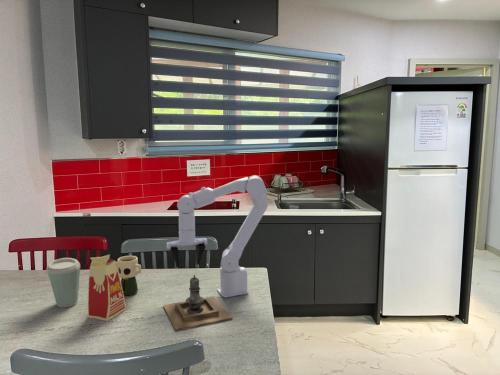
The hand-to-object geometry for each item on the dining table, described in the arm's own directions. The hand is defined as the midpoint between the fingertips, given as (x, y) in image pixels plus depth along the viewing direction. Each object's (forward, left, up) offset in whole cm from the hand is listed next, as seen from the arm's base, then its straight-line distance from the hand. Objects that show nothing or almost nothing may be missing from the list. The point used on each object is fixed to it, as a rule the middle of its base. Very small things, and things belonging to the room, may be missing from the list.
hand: (187, 265), depth 145 cm
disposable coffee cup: (+41, -8, -11) cm, 43 cm away
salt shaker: (+2, +16, -10) cm, 19 cm away
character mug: (+20, -9, -11) cm, 24 cm away
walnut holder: (+2, +17, -10) cm, 20 cm away
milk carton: (+29, +5, -11) cm, 31 cm away
